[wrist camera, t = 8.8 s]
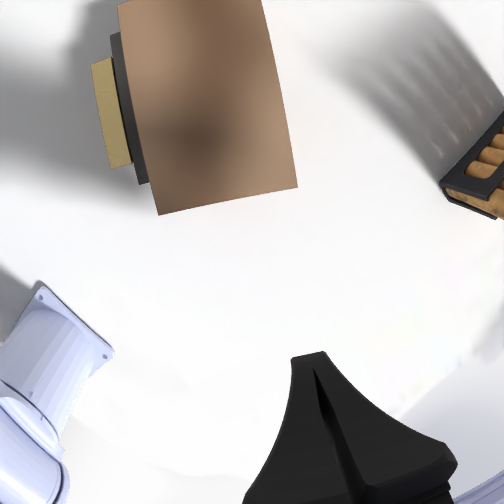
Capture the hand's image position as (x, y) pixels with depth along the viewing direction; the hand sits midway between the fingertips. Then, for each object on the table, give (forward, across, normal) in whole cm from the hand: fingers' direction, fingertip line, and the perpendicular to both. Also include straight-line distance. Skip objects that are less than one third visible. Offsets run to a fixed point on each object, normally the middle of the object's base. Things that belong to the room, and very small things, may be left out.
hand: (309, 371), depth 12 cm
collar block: (+9, +2, -12) cm, 15 cm away
